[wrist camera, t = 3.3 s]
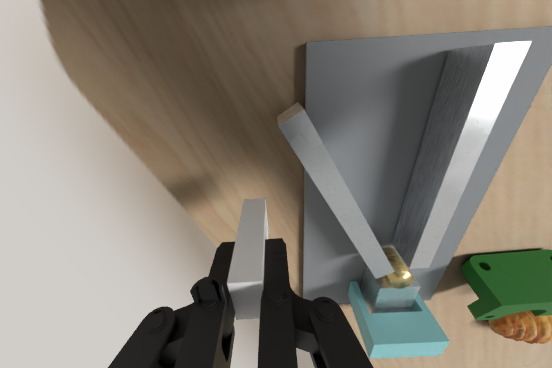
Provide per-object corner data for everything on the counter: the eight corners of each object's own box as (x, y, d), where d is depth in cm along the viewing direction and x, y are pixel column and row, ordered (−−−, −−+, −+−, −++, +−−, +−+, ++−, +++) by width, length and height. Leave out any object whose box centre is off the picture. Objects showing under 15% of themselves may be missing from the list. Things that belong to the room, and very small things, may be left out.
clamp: (441, 253, 32) (454, 315, 26) (461, 231, 28) (481, 299, 22) (543, 277, 28) (586, 357, 22) (584, 257, 24) (648, 347, 18)
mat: (305, 42, 15) (306, 42, 15) (561, 26, 15) (571, 24, 14) (302, 302, 30) (303, 306, 30) (427, 296, 30) (430, 300, 30)
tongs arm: (276, 116, 17) (278, 126, 14) (298, 101, 16) (303, 109, 13) (363, 253, 25) (375, 279, 21) (379, 246, 24) (394, 271, 21)
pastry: (476, 326, 35) (498, 353, 32) (492, 302, 32) (518, 329, 29) (532, 323, 35) (560, 349, 31) (554, 298, 32) (588, 325, 28)
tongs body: (413, 51, 15) (453, 46, 12) (474, 47, 15) (531, 41, 12) (356, 303, 30) (366, 331, 27) (386, 302, 30) (400, 330, 27)
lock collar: (350, 281, 27) (374, 344, 21) (408, 278, 27) (449, 341, 21) (347, 294, 28) (369, 358, 22) (402, 292, 28) (440, 355, 22)
